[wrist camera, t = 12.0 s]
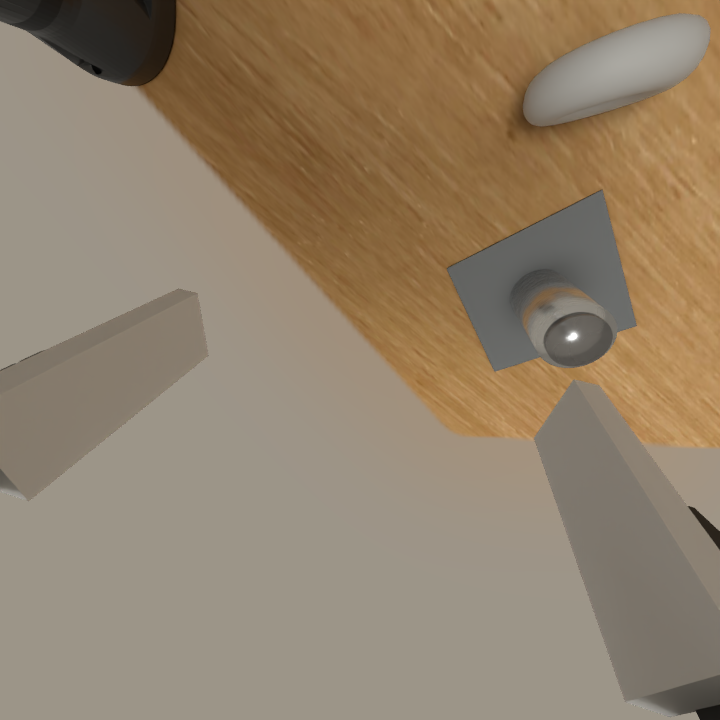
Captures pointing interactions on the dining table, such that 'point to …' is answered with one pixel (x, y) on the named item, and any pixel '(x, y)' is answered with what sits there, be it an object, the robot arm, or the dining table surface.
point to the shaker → (562, 320)
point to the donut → (617, 69)
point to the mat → (538, 252)
